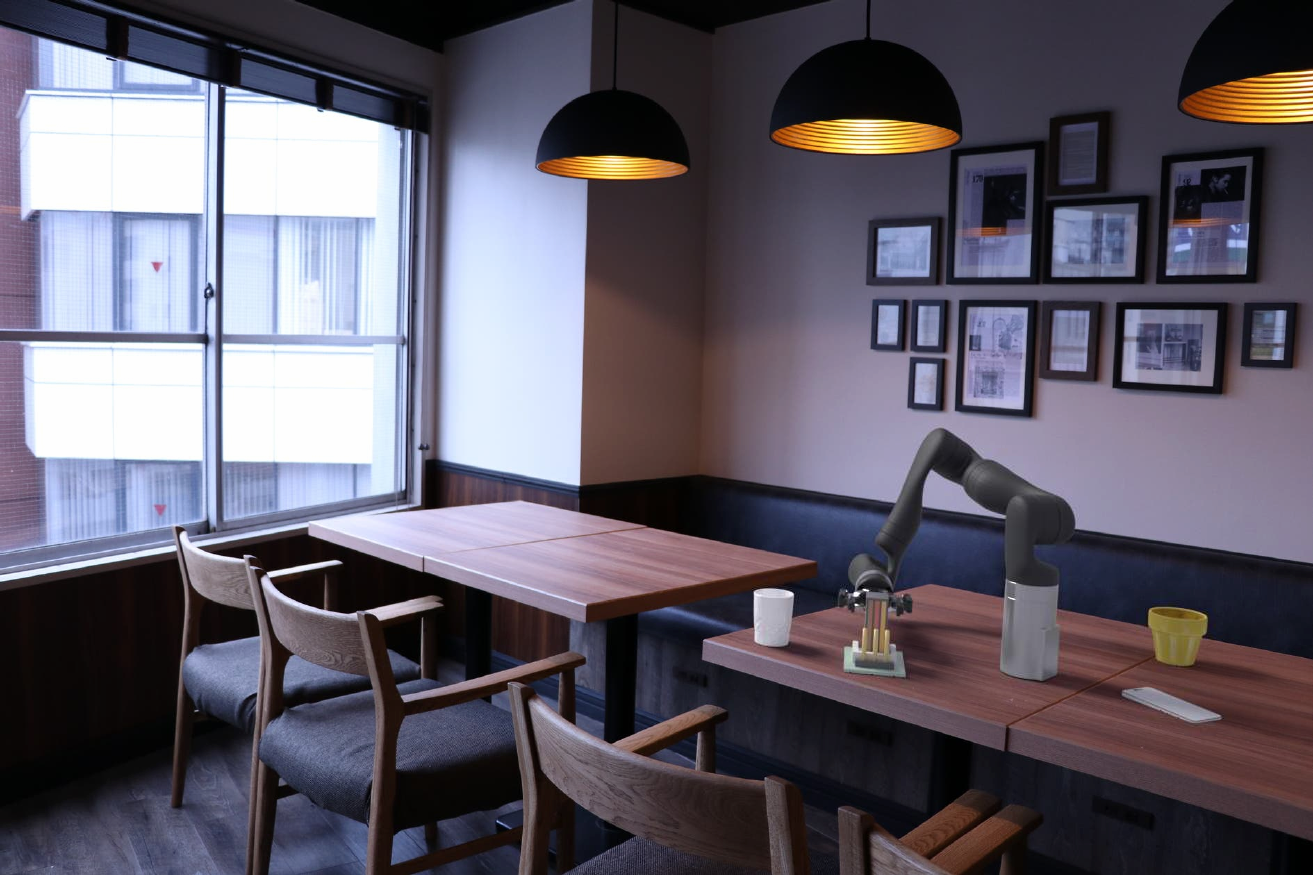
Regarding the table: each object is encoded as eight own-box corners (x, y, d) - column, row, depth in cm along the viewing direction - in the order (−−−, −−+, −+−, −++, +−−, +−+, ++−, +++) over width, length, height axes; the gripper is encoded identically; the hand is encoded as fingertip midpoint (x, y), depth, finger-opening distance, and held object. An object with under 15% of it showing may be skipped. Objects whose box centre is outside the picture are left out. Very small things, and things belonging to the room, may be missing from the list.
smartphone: (1193, 721, 168) (1119, 690, 182) (1193, 728, 168) (1118, 696, 182) (1225, 716, 171) (1149, 686, 185) (1224, 723, 171) (1148, 692, 185)
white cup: (778, 650, 201) (781, 599, 200) (744, 642, 206) (746, 592, 205) (798, 642, 207) (801, 593, 206) (764, 634, 212) (767, 586, 211)
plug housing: (863, 653, 199) (866, 591, 198) (884, 654, 198) (887, 593, 197) (863, 660, 194) (866, 597, 193) (885, 662, 193) (888, 599, 193)
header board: (844, 649, 203) (846, 611, 203) (901, 654, 201) (904, 616, 201) (843, 671, 189) (845, 630, 188) (905, 677, 187) (908, 636, 186)
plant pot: (1143, 663, 202) (1147, 614, 201) (1146, 650, 211) (1150, 603, 210) (1203, 672, 197) (1208, 622, 196) (1203, 659, 206) (1207, 611, 206)
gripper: (839, 570, 214) (838, 587, 198) (910, 575, 212) (915, 593, 196) (837, 606, 215) (836, 625, 199) (908, 611, 212) (913, 632, 196)
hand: (875, 609), depth 197 cm, fingers open, 8 cm apart
